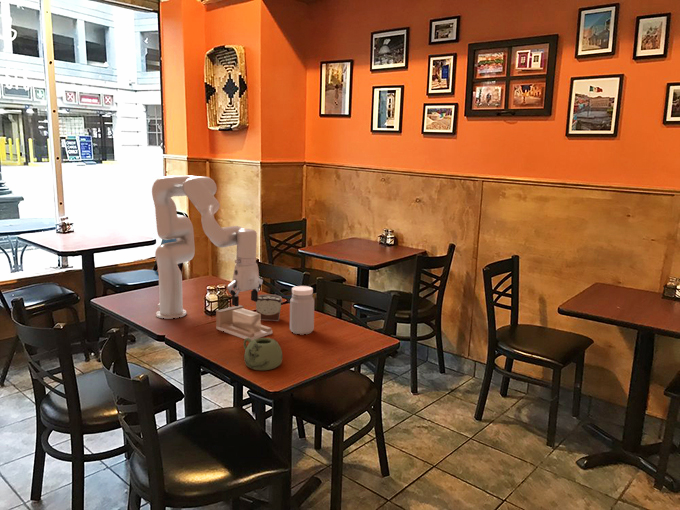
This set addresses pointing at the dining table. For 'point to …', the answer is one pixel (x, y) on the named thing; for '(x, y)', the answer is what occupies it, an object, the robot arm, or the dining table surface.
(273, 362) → the green rounded hollow pot
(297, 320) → the jar
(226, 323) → the floor frame
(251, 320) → the beige rectangular block
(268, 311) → the food container
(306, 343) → the dining table surface
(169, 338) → the dining table surface
